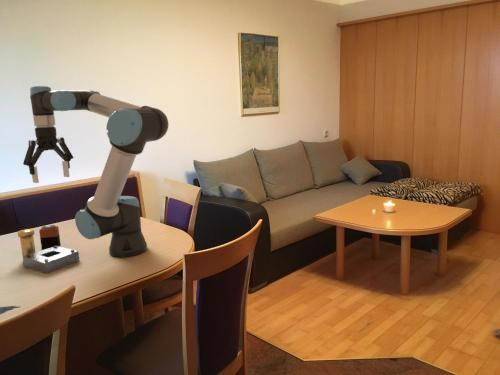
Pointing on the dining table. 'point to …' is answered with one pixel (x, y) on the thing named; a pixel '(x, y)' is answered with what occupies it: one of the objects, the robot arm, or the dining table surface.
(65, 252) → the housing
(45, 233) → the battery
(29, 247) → the knob
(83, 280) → the dining table surface
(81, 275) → the dining table surface
